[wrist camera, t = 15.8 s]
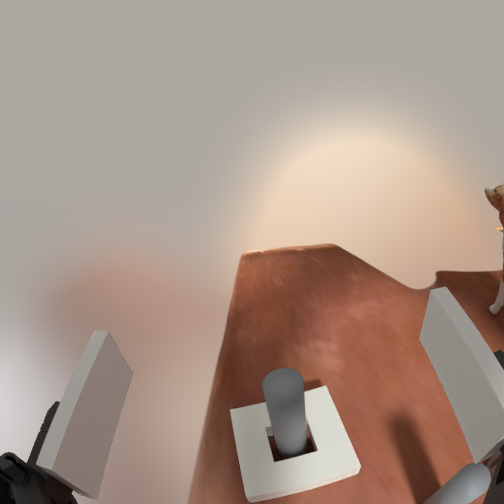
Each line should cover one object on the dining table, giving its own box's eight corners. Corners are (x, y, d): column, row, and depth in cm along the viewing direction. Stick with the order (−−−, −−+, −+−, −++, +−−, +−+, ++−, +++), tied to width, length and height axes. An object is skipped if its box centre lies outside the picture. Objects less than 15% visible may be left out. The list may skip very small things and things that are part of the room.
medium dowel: (441, 490, 24) (480, 455, 18) (452, 512, 20) (496, 483, 15) (414, 505, 24) (449, 476, 18) (425, 528, 20) (465, 506, 14)
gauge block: (325, 396, 42) (325, 385, 41) (358, 473, 30) (361, 466, 29) (234, 419, 41) (229, 409, 40) (250, 502, 29) (246, 497, 28)
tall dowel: (302, 432, 38) (297, 363, 30) (310, 455, 34) (308, 393, 26) (274, 440, 37) (258, 373, 30) (281, 463, 34) (266, 404, 26)
